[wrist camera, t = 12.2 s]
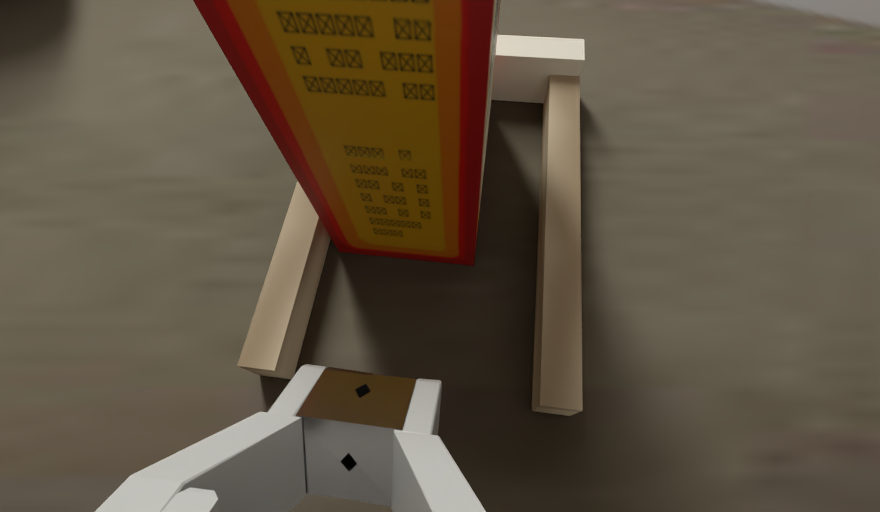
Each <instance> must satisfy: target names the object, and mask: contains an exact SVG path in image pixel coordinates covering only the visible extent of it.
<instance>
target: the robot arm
mask: <svg viewBox="0 0 880 512" xmlns="http://www.w3.org/2000/svg"><path fill="white" fill-rule="evenodd" d="M441 391H442V383H441V380H431V379H420V378H418V379H414V378H405V377H396V376H387V375H378V374H373V373H367V372H360V371H353V370H346V369H339V368H333V367H325V366H317V365H309V364H306V365H303V366H301V367H300V369H299V370H298V371H297V373H296V374H295V375H294V377H293V378H292V379H291V381H290V382H289V384H288V385H287V386H286V388H285V389H284V390H283V392H282V393H281V394H280V396H279V397H278V398H277V400H276V401H275V402H274V404H273V405H272V407H271V408H270V409H269V411H268V412H267V413H266V412H258V413H256V414H254V415H252V416H250V417H248V418H246V419H244V420H242V421H240V422H238V423H236V424H234V425H232V426H230V427H228V428H226V429H224V430H222V431H220V432H218V433H216V434H214V435H212V436H210V437H208V438H206V439H204V440H202V441H200V442H198V443H195V444H193V445H191V446H189V447H187V448H185V449H183V450H181V451H179V452H177V453H175V454H173V455H171V456H169V457H167V458H165V459H163V460H161V461H159V462H157V463H155V464H153V465H151V466H149V467H147V468H145V469H143V470H141V471H139V472H137V473H134V474H132V475H130V476H129V477H128V479H127V480H126V481H125V482H124V483H123V484H122V485H121V486H120V487H119V488H118V489H117V490H116V491H115V492H114V493H113V494H112V495H111V496H110V497H109V498H108V499H107V500H106V501H105V502H104V503H103V504H102V505H101V506H100V507H99V508H98V509H97V510H96V511H95V512H289V511H290V510H291V509H293V508H294V507H295V506H296V505H297V504H298V503H299V502H301V501H302V500H303V499H304V498H305V497H306V494H311V495H320V496H328V497H336V498H345V499H352V500H357V501H363V502H368V503H374V504H379V505H385V506H390V507H392V512H486V511H485V509H484V508H483V506H482V505H481V503H480V501H479V500H478V498H477V496H476V495H475V493H474V492H473V490H472V488H471V487H470V485H469V484H468V482H467V480H466V479H465V477H464V476H463V474H462V472H461V471H460V469H459V467H458V466H457V464H456V463H455V461H454V459H453V458H452V456H451V455H450V453H449V451H448V450H447V448H446V447H445V445H444V443H443V442H442V440H441V439H440V437H439V436H438V429H439V417H440V404H441Z"/></svg>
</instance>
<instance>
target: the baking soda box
mask: <svg viewBox="0 0 880 512" xmlns="http://www.w3.org/2000/svg"><path fill="white" fill-rule="evenodd" d="M193 1H194V3H195V4H196V6H197V8H198V9H199V11H200V13H201V15H202V16H203V18H204V20H205V22H206V23H207V25H208V27H209V28H210V30H211V32H212V34H213V35H214V37H215V39H216V41H217V42H218V44H219V46H220V47H221V49H222V51H223V53H224V54H225V56H226V58H227V59H228V61H229V63H230V65H231V66H232V68H233V70H234V72H235V73H236V75H237V77H238V78H239V80H240V82H241V84H242V85H243V87H244V89H245V91H246V92H247V94H248V96H249V97H250V99H251V101H252V103H253V104H254V106H255V108H256V109H257V111H258V113H259V115H260V116H261V118H262V120H263V122H264V123H265V125H266V127H267V128H268V130H269V132H270V134H271V135H272V137H273V139H274V141H275V142H276V144H277V146H278V147H279V149H280V151H281V153H282V154H283V156H284V158H285V159H286V161H287V163H288V165H289V166H290V168H291V170H292V172H293V173H294V175H295V177H296V178H297V180H298V182H299V184H300V185H301V187H302V189H303V191H304V192H305V194H306V196H307V197H308V199H309V201H310V203H311V204H312V206H313V208H314V209H315V211H316V213H317V215H318V216H319V218H320V220H321V222H322V223H323V225H324V227H325V228H326V230H327V232H328V234H329V235H330V237H331V239H332V241H333V242H334V244H335V246H336V247H337V249H338V251H339V252H345V253H355V254H365V255H374V256H384V257H394V258H404V259H413V260H423V261H433V262H442V263H452V264H462V265H472V266H474V260H475V251H476V242H477V232H478V223H479V214H480V204H481V195H482V186H483V176H484V167H485V158H486V149H487V139H488V130H489V121H490V111H491V100H492V88H493V77H494V66H495V55H496V43H497V32H498V21H499V9H500V0H193Z"/></svg>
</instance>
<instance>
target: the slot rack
mask: <svg viewBox="0 0 880 512" xmlns="http://www.w3.org/2000/svg"><path fill="white" fill-rule="evenodd" d="M584 60H585V57H584V39H568V38H549V37H529V36H510V35H497V43H496V55H495V66H494V77H493V88H492V100H501V101H516V102H531V103H543V126H542V152H541V178H540V204H539V230H538V257H537V283H536V309H535V335H534V361H533V388H532V411H536V412H544V413H551V414H559V415H566V416H571V415H573V414H576V413H578V412H581V411H583V402H582V294H581V186H580V78H579V76H580V73H581V70H582V67H583V63H584ZM330 240H331V237H330V235H329V234H328V232H327V230H326V228H325V227H324V225H323V223H322V222H321V220H320V218H319V216H318V215H317V213H316V211H315V209H314V208H313V206H312V204H311V203H310V201H309V199H308V197H307V196H306V194H305V192H304V191H303V189H302V187H301V185H300V184H299V182H298V181H297V184H296V187H295V190H294V193H293V196H292V200H291V203H290V206H289V209H288V212H287V215H286V218H285V221H284V224H283V227H282V230H281V233H280V236H279V239H278V243H277V246H276V249H275V252H274V255H273V258H272V261H271V264H270V267H269V270H268V273H267V276H266V279H265V282H264V285H263V289H262V292H261V295H260V298H259V301H258V304H257V307H256V310H255V313H254V316H253V319H252V322H251V325H250V328H249V332H248V335H247V338H246V341H245V344H244V347H243V350H242V353H241V356H240V359H239V362H238V365H237V366H239V367H241V368H244V369H246V370H248V371H251V372H253V373H256V374H258V375H263V376H270V377H278V378H285V379H292V378H293V377H294V374H295V370H296V366H297V363H298V359H299V355H300V351H301V348H302V344H303V340H304V336H305V333H306V329H307V325H308V322H309V318H310V314H311V310H312V307H313V303H314V299H315V295H316V292H317V288H318V284H319V281H320V277H321V273H322V269H323V266H324V262H325V258H326V254H327V251H328V247H329V243H330Z"/></svg>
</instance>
